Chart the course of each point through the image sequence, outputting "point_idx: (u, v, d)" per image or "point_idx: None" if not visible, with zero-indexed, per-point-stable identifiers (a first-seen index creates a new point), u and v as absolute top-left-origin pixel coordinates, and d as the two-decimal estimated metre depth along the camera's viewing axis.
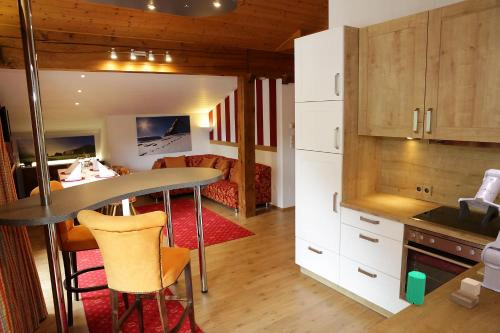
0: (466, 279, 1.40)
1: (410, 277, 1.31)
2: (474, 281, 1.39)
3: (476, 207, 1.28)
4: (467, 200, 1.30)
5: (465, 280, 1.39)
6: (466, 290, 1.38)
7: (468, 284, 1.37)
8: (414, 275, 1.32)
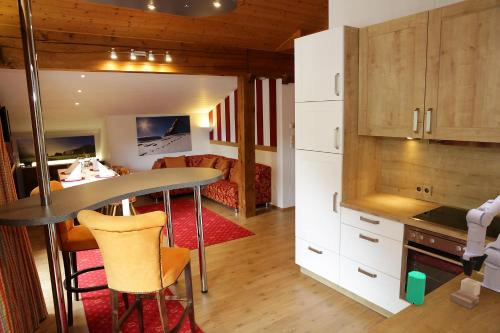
0: (466, 279, 1.40)
1: (410, 277, 1.31)
2: (474, 281, 1.39)
3: None
4: None
5: (465, 280, 1.39)
6: (466, 290, 1.38)
7: (468, 284, 1.37)
8: (414, 275, 1.32)
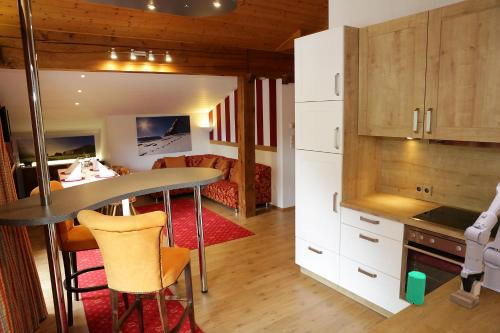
0: None
1: (410, 277, 1.31)
2: (474, 281, 1.39)
3: None
4: None
5: None
6: None
7: None
8: (414, 275, 1.32)
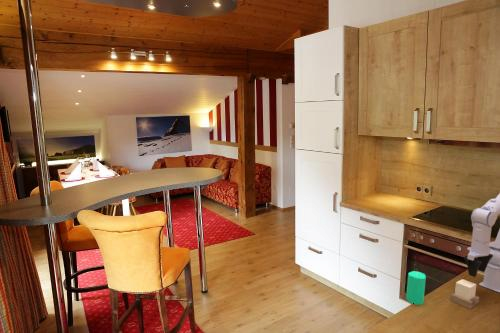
0: (461, 281, 1.33)
1: (410, 277, 1.31)
2: (469, 283, 1.32)
3: None
4: None
5: (460, 282, 1.32)
6: (461, 292, 1.31)
7: (463, 286, 1.30)
8: (414, 275, 1.32)
